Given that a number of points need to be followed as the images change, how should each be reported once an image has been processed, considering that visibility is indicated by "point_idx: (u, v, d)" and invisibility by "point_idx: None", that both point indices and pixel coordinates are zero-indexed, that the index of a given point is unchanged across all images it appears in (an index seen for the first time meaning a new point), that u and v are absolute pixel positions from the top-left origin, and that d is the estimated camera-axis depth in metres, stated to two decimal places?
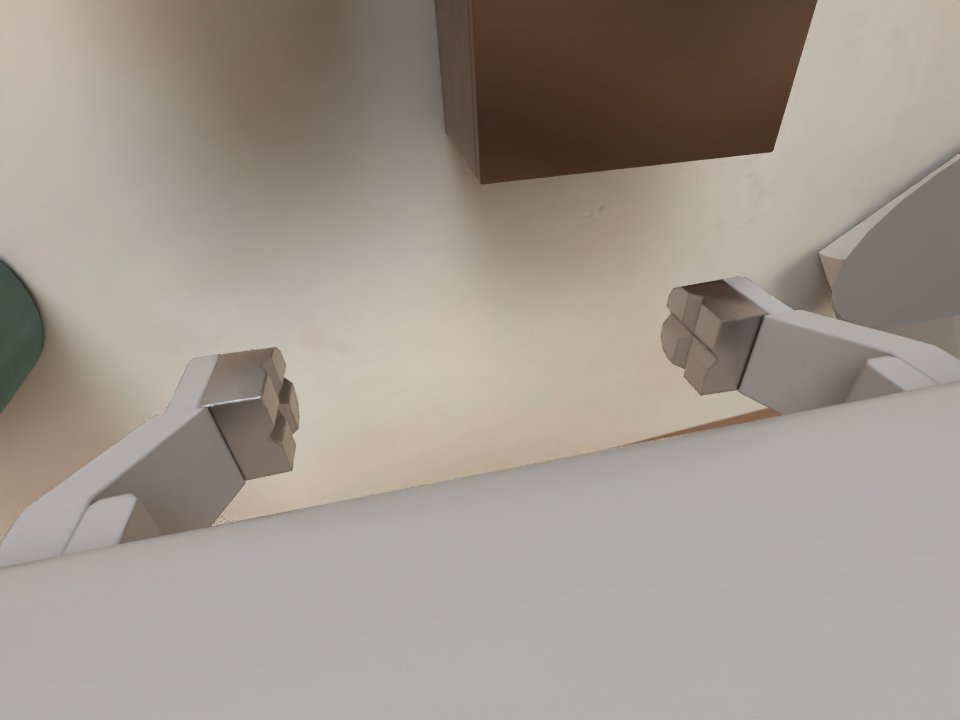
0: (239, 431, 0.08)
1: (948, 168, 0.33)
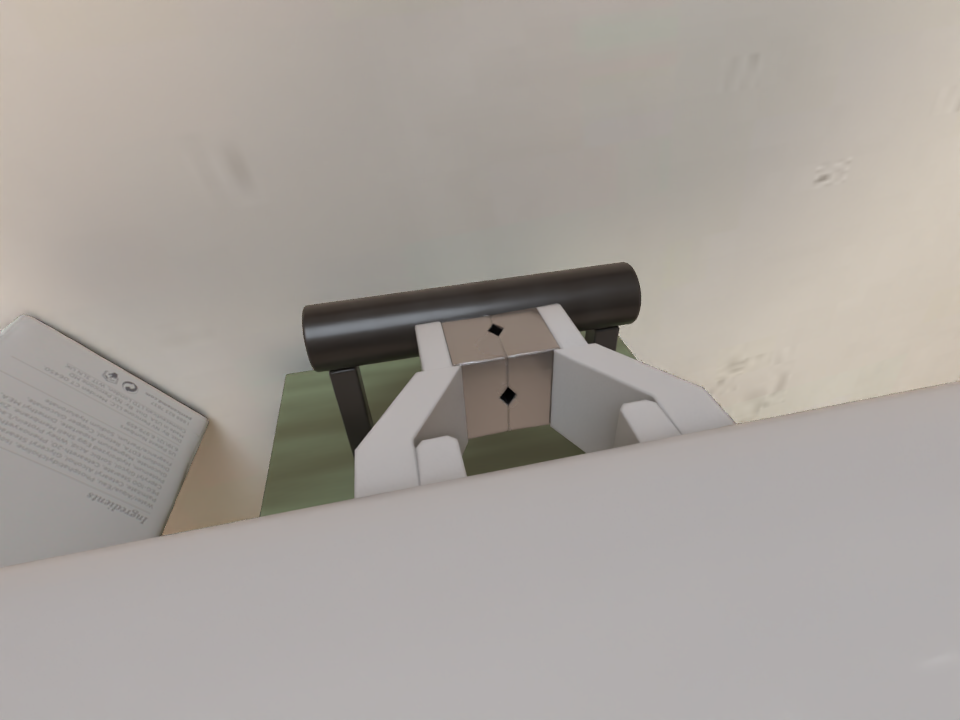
0: (478, 390, 0.09)
1: None
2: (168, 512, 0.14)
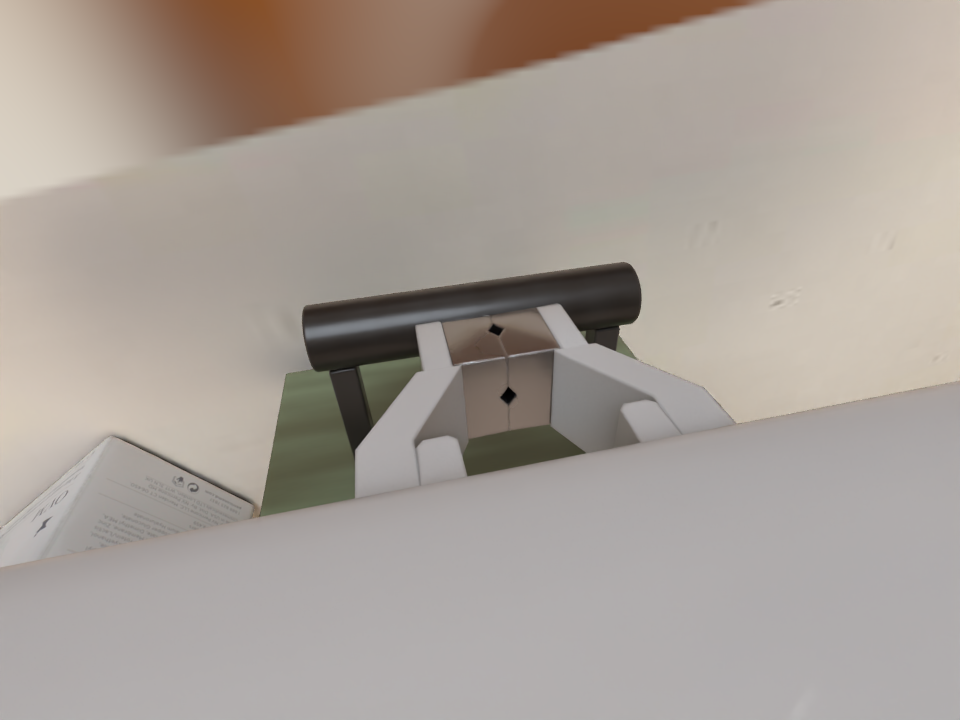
0: (478, 390, 0.09)
1: None
2: None
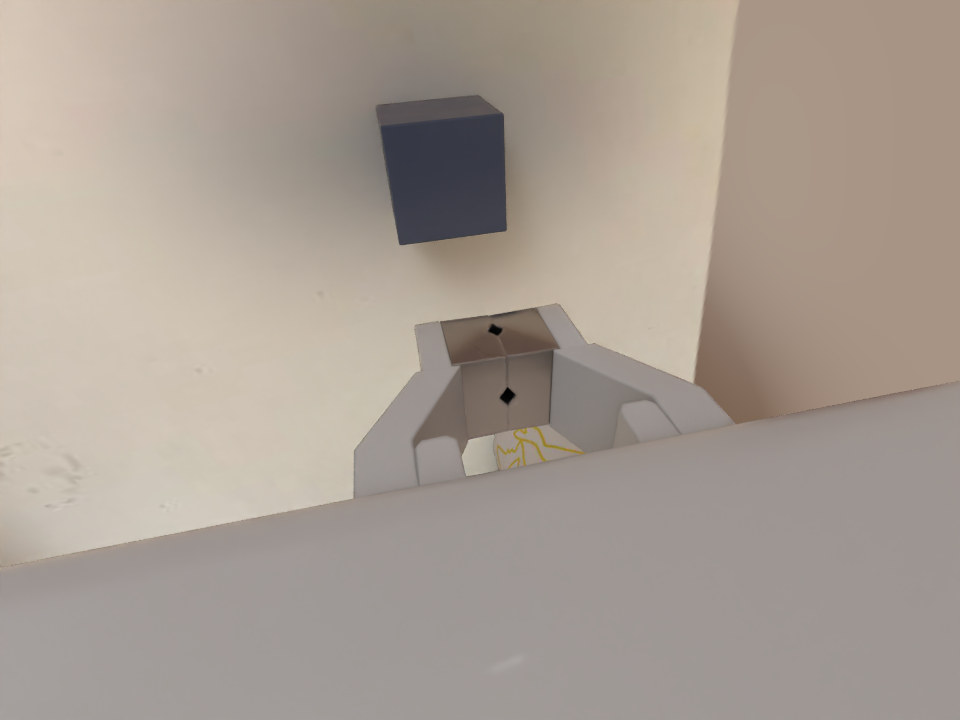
0: (478, 390, 0.09)
1: None
2: None
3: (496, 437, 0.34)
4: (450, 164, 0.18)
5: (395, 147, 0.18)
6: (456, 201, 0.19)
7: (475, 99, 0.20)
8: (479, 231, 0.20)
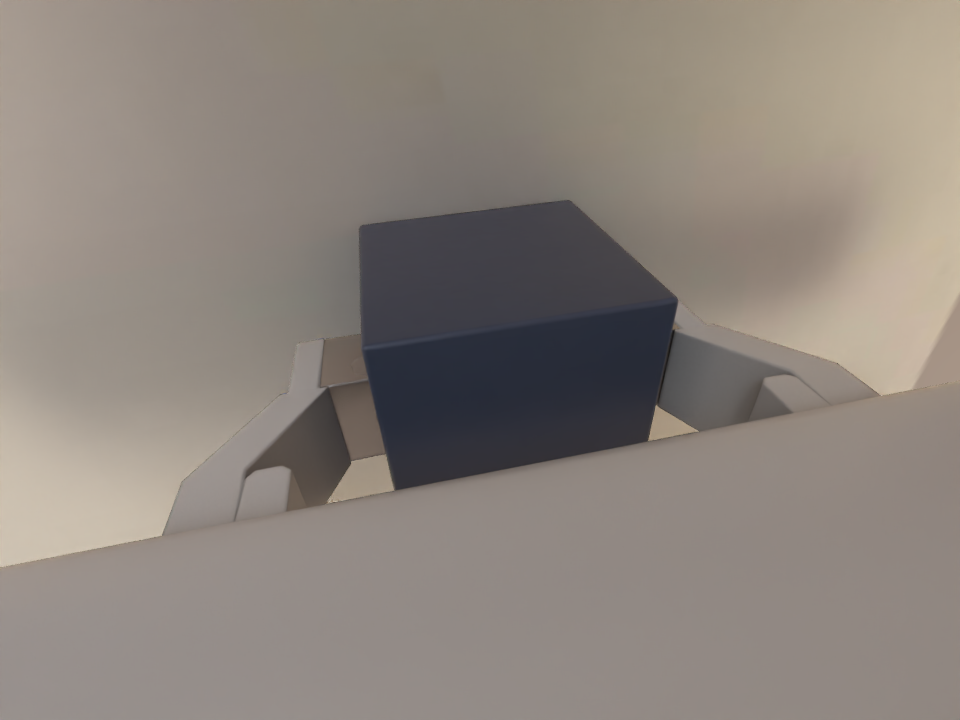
0: (353, 412, 0.08)
1: None
2: None
3: None
4: (536, 405, 0.08)
5: (401, 387, 0.07)
6: None
7: (571, 218, 0.10)
8: None
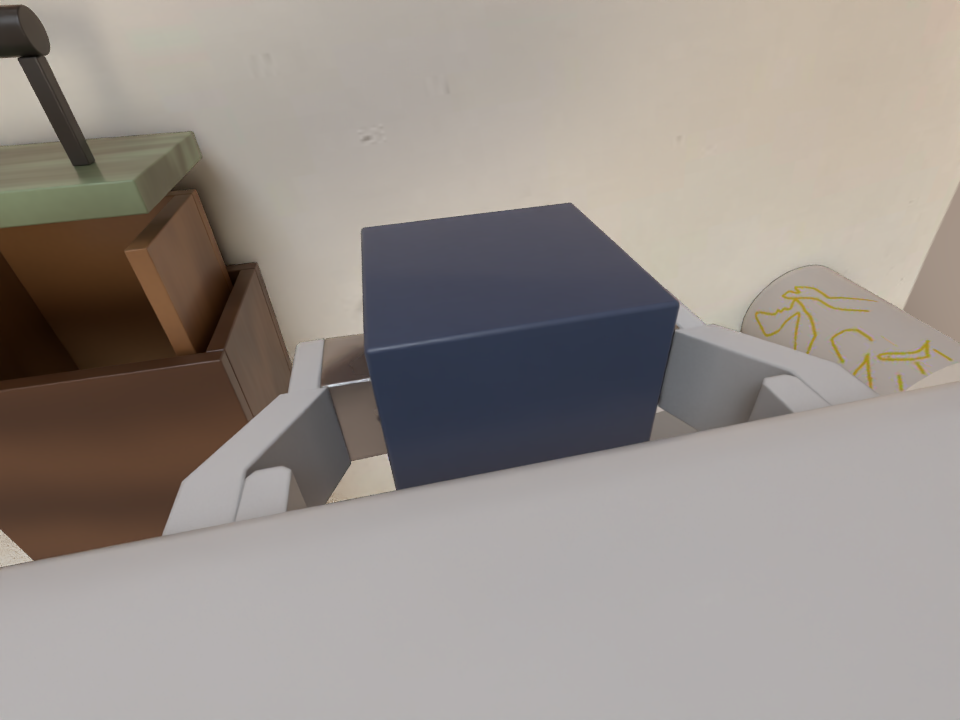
0: (353, 412, 0.08)
1: None
2: None
3: (753, 306, 0.37)
4: (538, 408, 0.08)
5: (404, 390, 0.07)
6: None
7: (572, 221, 0.10)
8: None
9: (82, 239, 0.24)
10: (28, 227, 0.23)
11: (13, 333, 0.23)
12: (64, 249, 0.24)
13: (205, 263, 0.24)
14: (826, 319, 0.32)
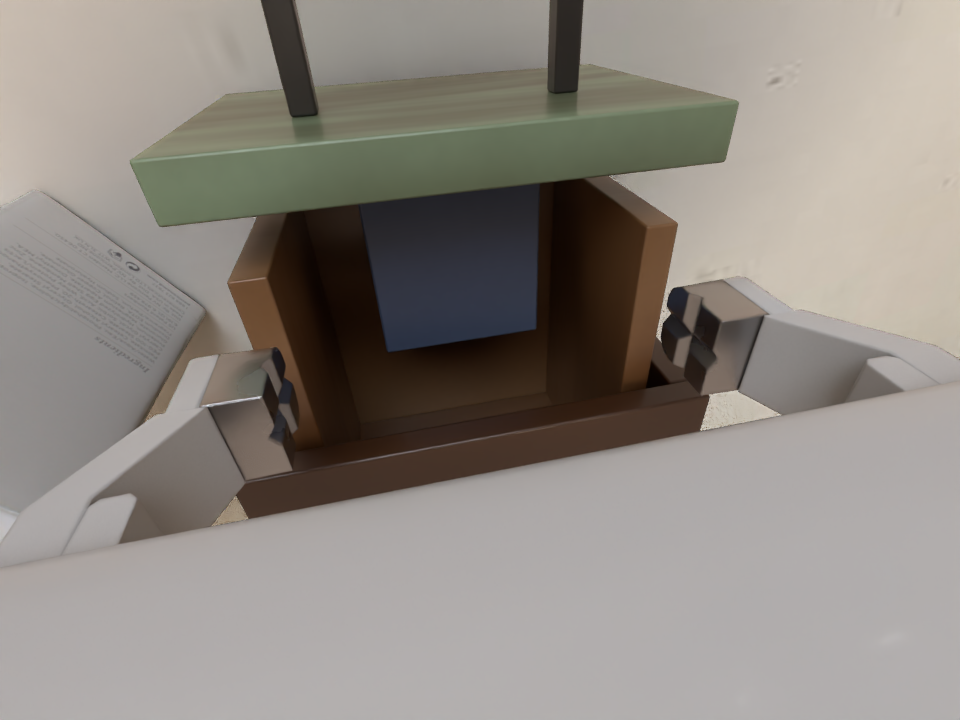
0: (239, 431, 0.08)
1: None
2: (168, 370, 0.15)
3: None
4: (461, 247, 0.13)
5: (380, 226, 0.12)
6: (468, 296, 0.14)
7: None
8: (498, 331, 0.14)
9: None
10: (357, 205, 0.16)
11: (330, 356, 0.16)
12: None
13: None
14: None
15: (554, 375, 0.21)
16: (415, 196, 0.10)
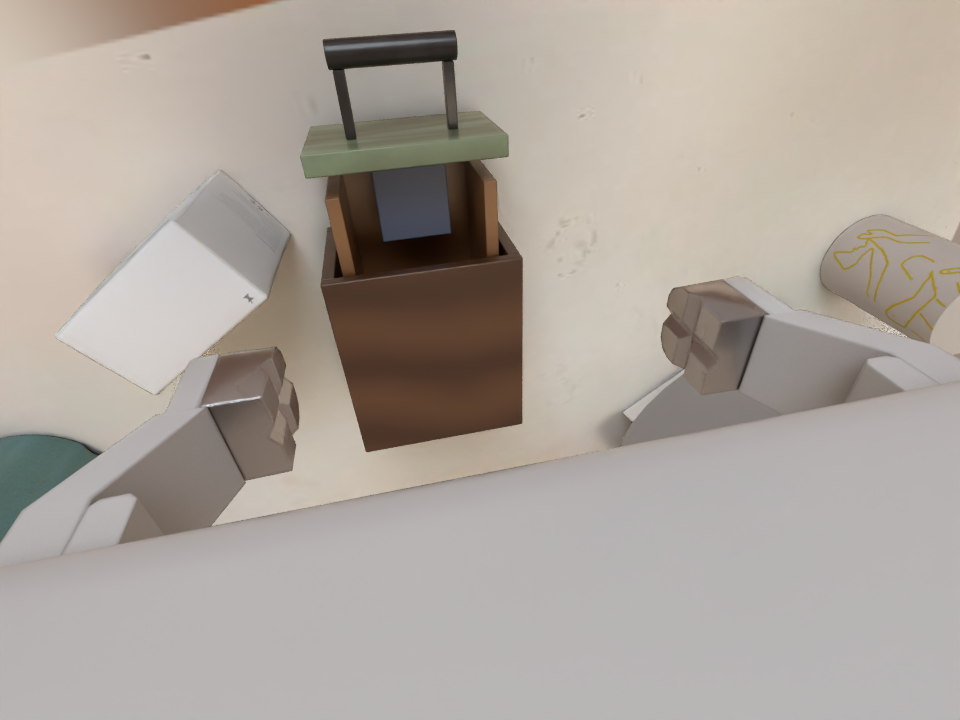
0: (239, 431, 0.08)
1: None
2: (281, 254, 0.33)
3: (832, 247, 0.48)
4: (414, 192, 0.30)
5: (380, 183, 0.30)
6: (418, 215, 0.31)
7: None
8: (433, 233, 0.32)
9: None
10: (369, 177, 0.34)
11: (356, 250, 0.34)
12: None
13: None
14: (896, 250, 0.43)
15: None
16: (392, 168, 0.27)
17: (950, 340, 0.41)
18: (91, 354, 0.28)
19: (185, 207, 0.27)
